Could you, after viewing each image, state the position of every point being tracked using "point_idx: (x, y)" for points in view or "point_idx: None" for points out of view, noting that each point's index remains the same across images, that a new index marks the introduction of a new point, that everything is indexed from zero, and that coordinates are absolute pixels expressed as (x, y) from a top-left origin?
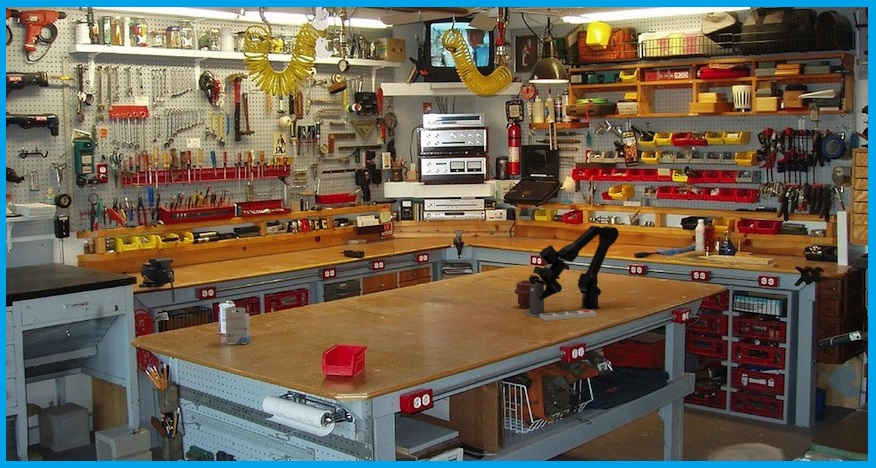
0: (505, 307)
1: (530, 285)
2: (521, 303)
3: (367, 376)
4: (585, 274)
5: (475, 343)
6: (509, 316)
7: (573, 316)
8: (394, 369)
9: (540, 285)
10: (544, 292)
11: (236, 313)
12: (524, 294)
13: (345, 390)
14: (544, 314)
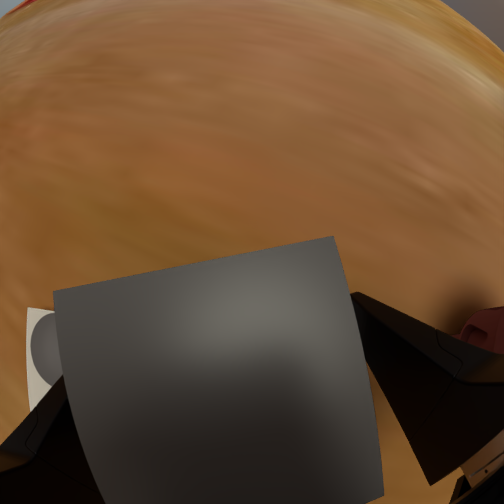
0: (481, 249)
1: (287, 250)
2: (472, 320)
3: (21, 8)
4: None
5: (8, 58)
6: (246, 167)
7: None
8: (16, 16)
9: (84, 451)
10: (36, 407)
11: None
12: (498, 327)
13: (10, 10)
14: (54, 324)
